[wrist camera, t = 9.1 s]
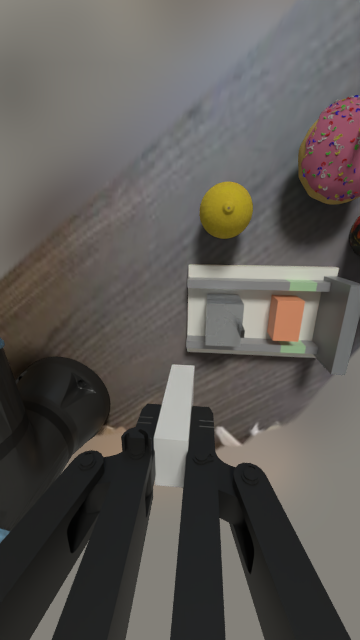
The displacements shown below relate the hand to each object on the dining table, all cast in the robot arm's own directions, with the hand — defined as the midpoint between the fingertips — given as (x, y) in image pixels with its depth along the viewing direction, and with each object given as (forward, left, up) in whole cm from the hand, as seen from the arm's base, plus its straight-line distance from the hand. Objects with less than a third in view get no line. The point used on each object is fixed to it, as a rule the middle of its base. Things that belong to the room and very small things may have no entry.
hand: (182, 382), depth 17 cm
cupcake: (+14, +17, -19) cm, 29 cm away
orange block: (+11, 0, -17) cm, 21 cm away
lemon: (+3, +12, -19) cm, 22 cm away
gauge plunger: (+4, 0, -17) cm, 17 cm away
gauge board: (+8, 0, -19) cm, 20 cm away
